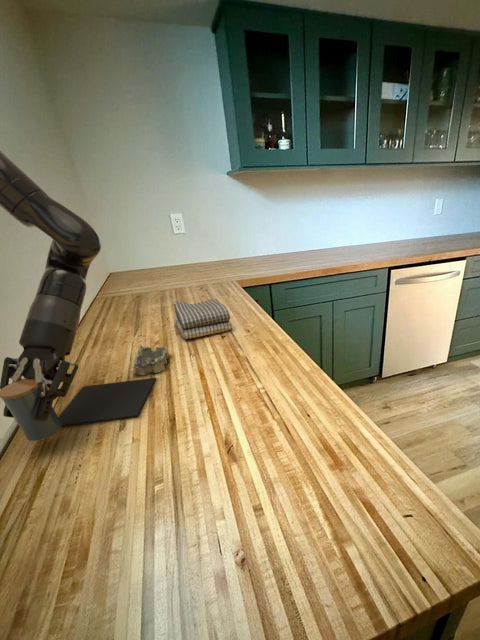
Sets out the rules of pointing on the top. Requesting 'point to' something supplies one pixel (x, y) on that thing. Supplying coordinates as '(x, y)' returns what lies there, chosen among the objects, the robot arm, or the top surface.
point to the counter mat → (107, 402)
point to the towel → (201, 318)
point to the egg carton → (150, 360)
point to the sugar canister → (28, 409)
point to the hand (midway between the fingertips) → (24, 418)
